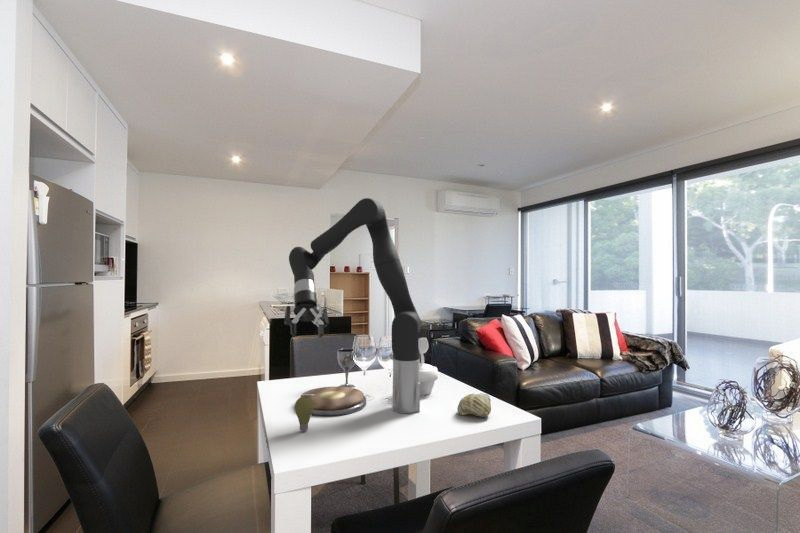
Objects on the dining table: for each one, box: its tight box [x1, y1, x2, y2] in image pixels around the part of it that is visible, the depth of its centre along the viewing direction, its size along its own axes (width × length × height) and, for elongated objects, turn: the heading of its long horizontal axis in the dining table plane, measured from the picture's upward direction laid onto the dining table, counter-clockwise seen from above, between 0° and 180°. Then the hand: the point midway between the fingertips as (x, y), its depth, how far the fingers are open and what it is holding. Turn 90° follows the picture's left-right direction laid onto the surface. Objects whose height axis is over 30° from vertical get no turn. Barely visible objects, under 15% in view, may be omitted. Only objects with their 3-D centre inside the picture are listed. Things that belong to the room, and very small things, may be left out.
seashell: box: [456, 393, 492, 418], centre depth 126 cm, size 10×10×10 cm
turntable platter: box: [299, 386, 365, 410], centre depth 135 cm, size 22×22×2 cm
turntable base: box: [311, 395, 367, 418], centre depth 135 cm, size 24×24×2 cm
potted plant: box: [418, 334, 439, 396], centre depth 150 cm, size 13×12×25 cm
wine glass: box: [336, 347, 356, 388], centre depth 157 cm, size 8×8×15 cm
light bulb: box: [294, 396, 314, 433], centre depth 111 cm, size 6×6×10 cm
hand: (307, 336), depth 124 cm, fingers open, 8 cm apart
